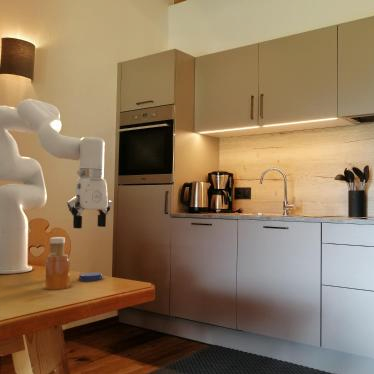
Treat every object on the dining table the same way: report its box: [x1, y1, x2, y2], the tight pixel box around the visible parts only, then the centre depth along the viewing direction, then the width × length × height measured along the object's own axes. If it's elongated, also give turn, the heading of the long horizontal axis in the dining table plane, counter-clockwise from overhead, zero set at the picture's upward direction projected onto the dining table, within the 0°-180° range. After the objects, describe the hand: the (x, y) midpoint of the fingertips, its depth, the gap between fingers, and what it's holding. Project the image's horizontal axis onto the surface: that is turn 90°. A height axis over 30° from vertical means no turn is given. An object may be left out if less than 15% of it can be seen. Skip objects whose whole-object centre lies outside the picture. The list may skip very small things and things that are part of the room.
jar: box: [45, 253, 71, 291], centre depth 124 cm, size 6×6×9 cm
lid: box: [78, 271, 103, 282], centre depth 136 cm, size 7×7×2 cm
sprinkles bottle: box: [49, 236, 66, 255], centre depth 138 cm, size 5×5×13 cm
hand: (89, 227), depth 137 cm, fingers open, 9 cm apart
